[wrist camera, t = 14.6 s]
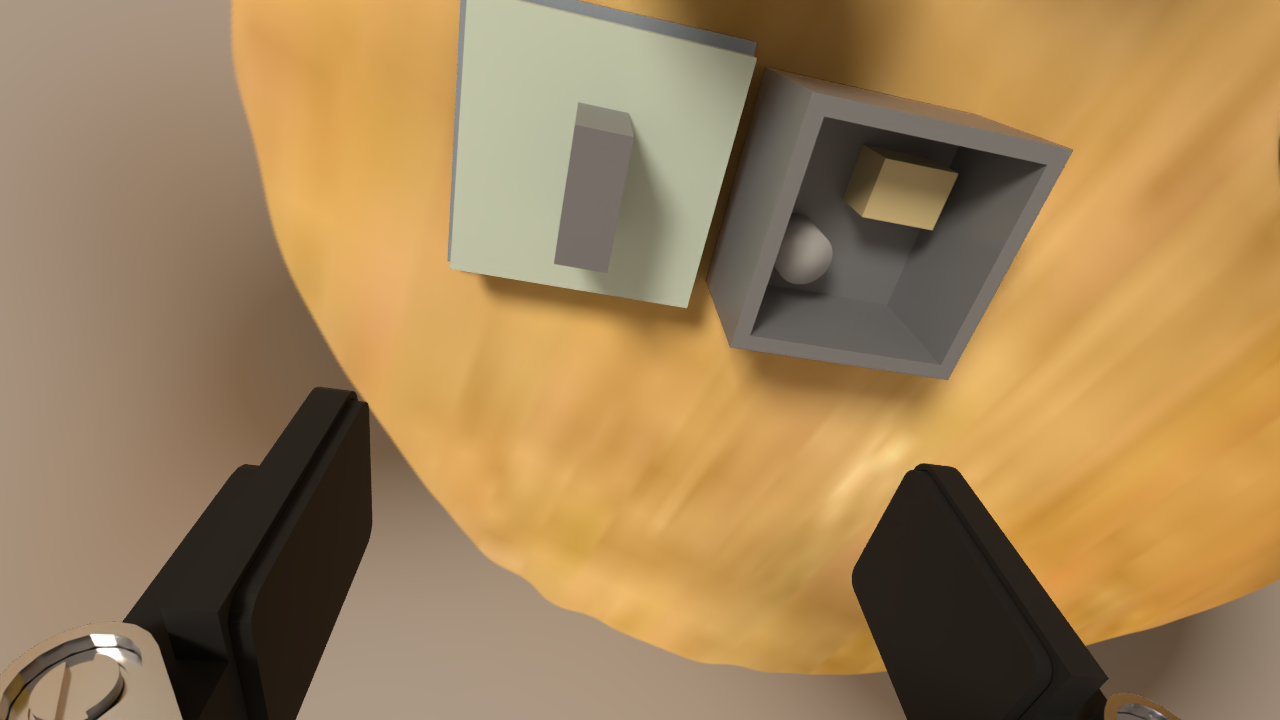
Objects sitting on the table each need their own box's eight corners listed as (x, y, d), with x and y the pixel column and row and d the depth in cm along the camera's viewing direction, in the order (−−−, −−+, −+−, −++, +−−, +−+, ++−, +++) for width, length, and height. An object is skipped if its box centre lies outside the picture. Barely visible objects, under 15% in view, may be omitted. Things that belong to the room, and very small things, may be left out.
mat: (753, 40, 31) (757, 42, 30) (685, 292, 38) (688, 299, 37) (466, -26, 29) (462, -26, 28) (451, 254, 36) (447, 261, 35)
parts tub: (976, 114, 34) (1073, 149, 27) (887, 310, 40) (947, 379, 33) (766, 66, 32) (812, 91, 25) (705, 280, 38) (730, 347, 31)
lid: (747, 52, 30) (786, 73, 24) (682, 291, 37) (700, 356, 31) (475, -12, 28) (441, -9, 22) (457, 253, 35) (427, 314, 29)
